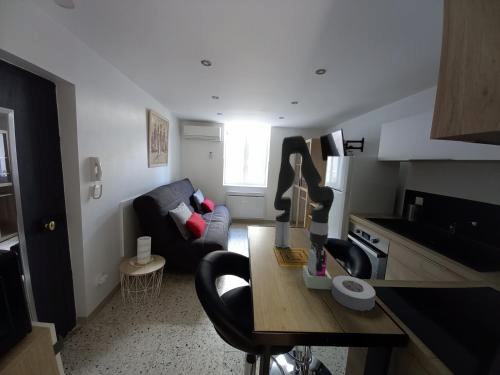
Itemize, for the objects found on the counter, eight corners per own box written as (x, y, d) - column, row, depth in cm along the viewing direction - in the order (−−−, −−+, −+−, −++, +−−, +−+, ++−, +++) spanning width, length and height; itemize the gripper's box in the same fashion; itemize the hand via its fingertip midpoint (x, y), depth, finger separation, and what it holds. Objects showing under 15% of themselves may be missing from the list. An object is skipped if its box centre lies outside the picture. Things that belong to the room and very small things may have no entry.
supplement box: (314, 280, 84) (315, 254, 83) (306, 273, 89) (308, 249, 88) (325, 278, 85) (327, 253, 84) (317, 271, 91) (319, 248, 90)
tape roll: (363, 317, 67) (364, 303, 66) (324, 294, 79) (324, 282, 79) (381, 301, 76) (382, 289, 76) (343, 282, 88) (344, 271, 88)
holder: (302, 275, 93) (303, 265, 92) (323, 276, 92) (324, 266, 92) (307, 287, 83) (307, 276, 82) (330, 289, 82) (331, 278, 82)
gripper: (306, 226, 93) (304, 259, 94) (314, 236, 78) (312, 274, 80) (322, 227, 92) (320, 260, 94) (333, 237, 78) (330, 276, 79)
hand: (316, 266), depth 87 cm, fingers closed on supplement box, 7 cm apart
